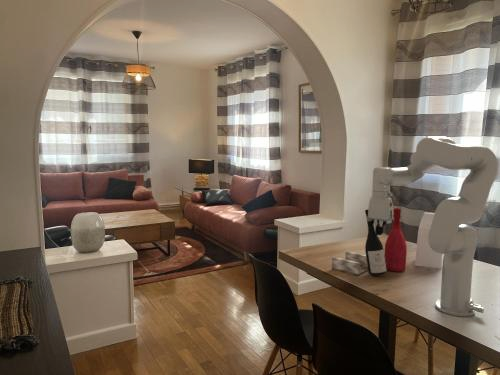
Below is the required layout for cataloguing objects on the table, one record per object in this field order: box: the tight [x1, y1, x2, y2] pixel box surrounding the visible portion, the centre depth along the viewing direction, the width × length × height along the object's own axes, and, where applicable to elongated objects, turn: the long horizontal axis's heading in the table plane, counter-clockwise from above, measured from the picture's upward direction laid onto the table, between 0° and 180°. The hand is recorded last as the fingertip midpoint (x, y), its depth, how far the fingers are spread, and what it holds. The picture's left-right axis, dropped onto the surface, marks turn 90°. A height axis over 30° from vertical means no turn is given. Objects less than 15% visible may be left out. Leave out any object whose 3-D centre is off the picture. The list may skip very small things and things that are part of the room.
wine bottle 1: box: [364, 209, 388, 277], centre depth 173 cm, size 8×8×30 cm
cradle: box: [331, 250, 369, 277], centre depth 181 cm, size 14×14×6 cm
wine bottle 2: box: [384, 207, 408, 273], centre depth 180 cm, size 10×10×30 cm
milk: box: [414, 212, 443, 270], centre depth 188 cm, size 12×12×26 cm
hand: (379, 234), depth 171 cm, fingers closed
